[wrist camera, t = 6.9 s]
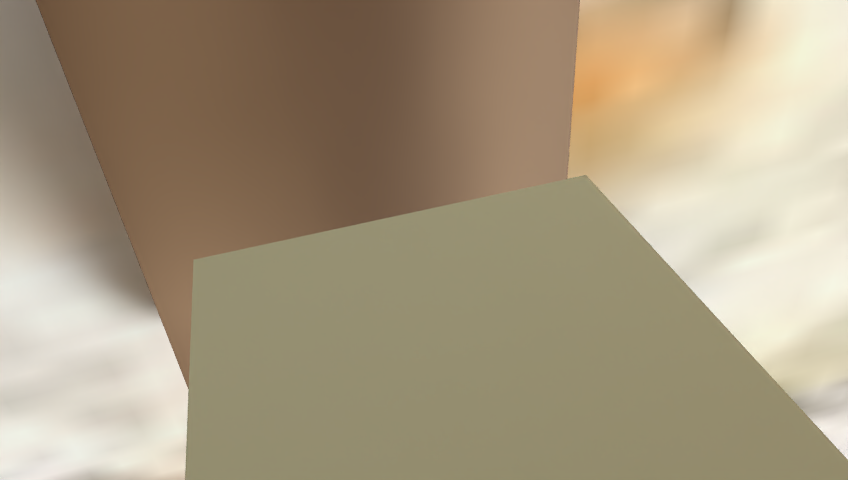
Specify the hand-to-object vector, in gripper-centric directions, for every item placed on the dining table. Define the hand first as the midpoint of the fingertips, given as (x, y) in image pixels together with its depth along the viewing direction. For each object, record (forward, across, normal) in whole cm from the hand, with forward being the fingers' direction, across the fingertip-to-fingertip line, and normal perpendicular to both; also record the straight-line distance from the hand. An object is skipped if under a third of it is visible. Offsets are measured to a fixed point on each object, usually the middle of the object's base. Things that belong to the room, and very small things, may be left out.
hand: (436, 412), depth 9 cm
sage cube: (+1, 0, 0) cm, 1 cm away
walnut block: (+9, 0, 0) cm, 9 cm away
